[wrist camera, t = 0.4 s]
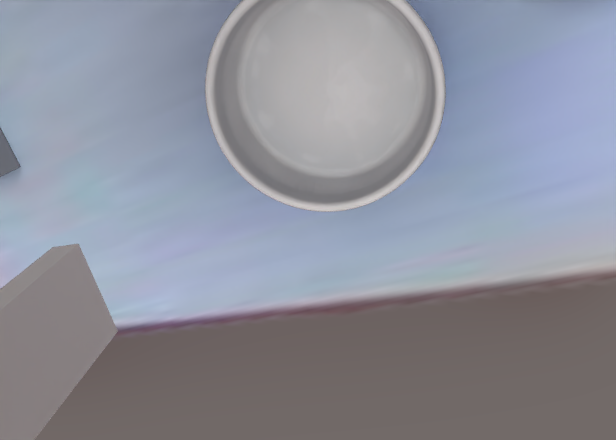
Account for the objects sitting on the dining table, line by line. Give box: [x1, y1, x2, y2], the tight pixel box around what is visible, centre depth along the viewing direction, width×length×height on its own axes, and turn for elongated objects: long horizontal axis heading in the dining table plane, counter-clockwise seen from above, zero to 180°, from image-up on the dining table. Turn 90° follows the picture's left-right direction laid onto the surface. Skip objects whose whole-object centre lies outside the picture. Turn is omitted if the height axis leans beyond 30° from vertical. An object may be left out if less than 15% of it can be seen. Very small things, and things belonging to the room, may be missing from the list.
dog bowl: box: [205, 0, 446, 212], centre depth 34 cm, size 15×15×6 cm
